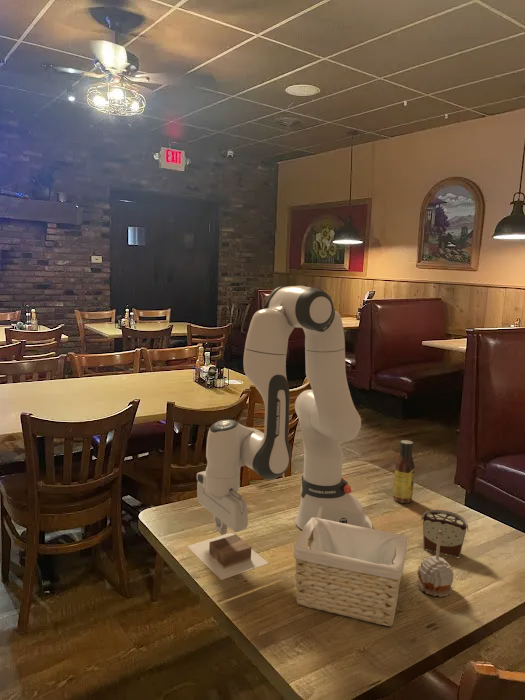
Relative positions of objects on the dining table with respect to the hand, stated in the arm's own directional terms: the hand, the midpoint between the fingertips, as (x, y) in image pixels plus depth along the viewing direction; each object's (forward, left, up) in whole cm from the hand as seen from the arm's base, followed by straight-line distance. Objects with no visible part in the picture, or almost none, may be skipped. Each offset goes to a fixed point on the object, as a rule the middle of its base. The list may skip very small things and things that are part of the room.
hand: (220, 532), depth 144 cm
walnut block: (-1, +1, -3) cm, 3 cm away
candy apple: (-53, +13, -5) cm, 55 cm away
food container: (-61, -6, -5) cm, 61 cm away
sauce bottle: (-57, -36, -5) cm, 68 cm away
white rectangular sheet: (-2, +3, -5) cm, 6 cm away
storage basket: (-31, +18, -6) cm, 37 cm away
